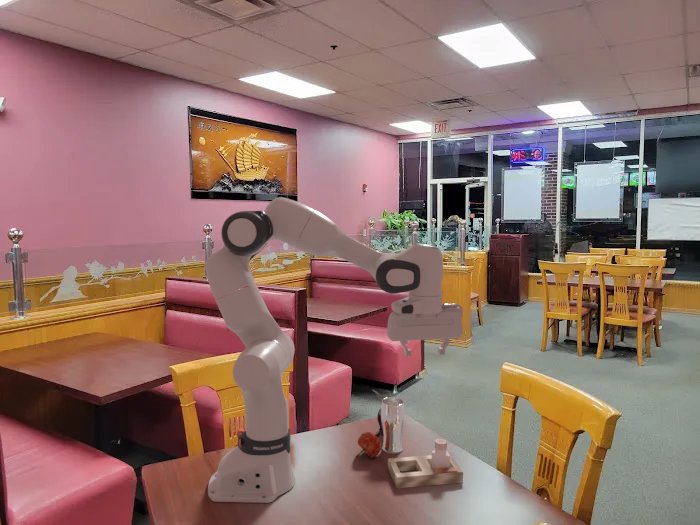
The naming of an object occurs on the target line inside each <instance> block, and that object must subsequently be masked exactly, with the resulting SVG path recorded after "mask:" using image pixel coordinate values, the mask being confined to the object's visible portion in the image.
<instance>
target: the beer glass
mask: <svg viewBox="0 0 700 525" xmlns="http://www.w3.org/2000/svg"><path fill="white" fill-rule="evenodd" d="M381 400H382V405H381V406H380V408H381V422H382V428H383V431H382V436H383V435H384V436H383V441H382V444H381V449H383V450H382V451H383V452H384V453H387V454H392V455H393V454H400V453H401V452H402V451H403V445H402V435H403V434H402V433H403V429H404V423H405V401H404V399H403V398H400V397H396V396H395V397H394V396H391V397H390V396H389V397H385V398H383V399H381Z"/></svg>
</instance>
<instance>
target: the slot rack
mask: <svg viewBox="0 0 700 525" xmlns="http://www.w3.org/2000/svg"><path fill="white" fill-rule="evenodd" d="M449 455H450V468H439V469H434V470H433V469H432V467H431V459H432V454H429V455H428V454H427V455H417V456H416V455H415V456H405V457H404V456H403V457H402V456H401V457H392V458H390V457H389V458H387V470H388V472H389V474H390V476H391V478H392V481H393V482H394V486H395V488H396V489H406V488H415V487H426V486H427V487H428V486H436V485H439V486H440V485H449V484H457V483H460V484H461V483H463V481H464V480H463V479H464V471H463V469H461V467H460V466H459V464H458V463H457V461H456V460H455V458H454V457H453V456H452V455H451V453H449ZM400 471H401V472H400Z"/></svg>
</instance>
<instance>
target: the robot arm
mask: <svg viewBox="0 0 700 525" xmlns="http://www.w3.org/2000/svg"><path fill="white" fill-rule="evenodd" d="M220 234H221V239H222V242H223V244H224V245H223V247H222V248H220V250H218V251H217V250H216V251H215V252H213V253H212V254H211V255H209V257H208V258H207V259H206V261H205V265H204V269H205V273H206V277H207V282H208V285H209V287H210V291H211V293H212V295H213V298H214V301H215V303H216V305H217V308H218V309H219V312H220V314H221V317H222V318H223V321H224V323H225V325H226V327H227V328H228V329H229V330H230V331H231V332H233V333H234V334H235V335H237V336H238V337H237V338H239V339H240V340H241V342H242V343H243V345H244V346H245V349H244V350H242V351H241V352H240V354H239V355H238V357H237V358H236V360H235V363H234V364H233V367H232V378H233V380H234V383H235V384H236V386H237V387H238V388H239V389H240V391H241V395H242V399H243V403H244V413H245V414H244V416H245V418H244V419H245V429H244V428H243V427H240V428H238V430H237V432H236V437H237V446H236V447H235V448H233V449H232V450H231V451H229V452H227V453H226V454H225V455H224V456H223V457H222V458H221V460H220V462H219V464H218V467H217V471H215V472H214V473H213V474H212V475H211V477H210V478H209V481H208V486H207V495H208V498H209V499H210V500H211V501H212V502H214V503H215V502H217V503H260V504H261V503H262V504H263V503H266V504H268V503H271V502H274V501H275V500H276V499H277V498H278V497H279V496H281V495H283V494H285V493H287V492H288V491H290V490H292V488H293V487H294V485H295V484H296V476H295V474H294V471H293V466H292V462H291V461H292V459H291V448H292V440H291V439H292V437H291V430H290V428H289V402H288V399H287V398H286V397H285V393H284V389H283V381H282V379H283V375H284V372H285V371H286V370H287V369H288V368H289V367H290V365H291V364H292V362H293V359H294V355H295V352H296V351H295V344H294V341H293V340H292V338H291V337H290V336H289V335H288V334H287V333H286V332H284V331H283V330H282V328H281V327H280V325H279V324H278V322H276V320H275V319H274V317H273V315H272V314H271V313H270V311H269V309H268V306H267V305H266V303H265V300H264V298H263V296H262V294H261V292H260V289H259V287H258V285H257V283H256V280H255V278H254V276H253V273H252V271H251V266H250V261H251V260H252V259H253V258H255V257H256V255H258V254H259V253H260V252H262V250H264V249H265V247H266V245H267V244H268V243H269V241H271V240H272V241H273V240H278V241H281V242H283V243H286V244H288V245H289V246H291V247H293V248H295V249H297V250H299V251H302V252H304V253H306V254H309V255H313V256H316V257H336V258H339V259H342V260H345V261H347V262H349V263H351V264H353V265H355V266H356V267H359V268H361V269H362V270H364V271H366V273H368V274H369V275H370V276H371V277H372V279H373V280H374V281H375V283H376V284H377V287H379V288H380V289H381V290H382V291H383V292H384V293H386V294H387V293H388V294H400V293H401V294H402V293H406V292H407V293H408V296H406V297H404V298H401V299H398V300H396V301H393V302H392V303H391V309H392V310H391V311H392V312H391V313H390V314H389V316H388V319H387V329H386V334H387V337H388V338H389V340H390V341H392V342H399V344H400V345H401V347H402V349H403V355H404V356H405V357H406V358H407V357H408V358H409V357H411V356H412V350H411V348H408V347H407V345H408V341H426V340H441V341H442V344H441V346H439V347H437V354H438V355H439V356H445V355H446V349H447V348H448V346H449V345H450V339H451V340H452V339H461V337H462V336H463V334H464V331H463V330H464V328H463V326H464V325H463V321H462V320H463V319H462V318H463V315H464V314H463V313H464V309H463V307H462V306H461V305H459V304H458V303H443V301H444V300H443V296H444V295H443V294H444V292H443V287H442V282H443V280H444V261H443V254H442V251H441V250H440V248H438V247H437V246H435V245H431V244H426V243H422V242H419V243H418V242H415V243H413V244H412V245H411V246H410V247H408V248H406V249H404V250H402V251H400V252H398V253H397V252H393V251H383V250H382V251H381V250H378V249H377V250H376V249H374V248H372V247H371V246H368V245H366V244H364V243H363V242H360V241H358V240H356V239H355V238H353V237H351V236H350V235H348V234H347V233H346V232H345V231H344V230H342V229H341V227H340V226H339V225H338V224H337V223H335V222H334V221H333V220H332V219H330V218H329V217H328V216H326V215H325V214H323V213H322V212H320V211H318V210H316V209H314V208H312V207H310V206H308V205H306V204H304V203H301V202H299V201H296V200H294V199H290V198H286V197H283V196H279V197H275V198H273V199H272V200H271V201H270V202H269V203H268V204H267V206H266V207H265V209H264V210H242V211H236V212H234V213H232V214H231V215H229V216H228V217H227V218H226V219H225V221H224V222H223V224H222V227H221V232H220Z"/></svg>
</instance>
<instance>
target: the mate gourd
mask: <svg viewBox="0 0 700 525" xmlns="http://www.w3.org/2000/svg"><path fill="white" fill-rule="evenodd" d="M371 391H372V392H374V393H375V394H376V395H377V398H378V399H379V401H380V405H381V406H382V400H383V399H382V396H381V394H380V393H379V392H378V391H376V390H374V389H371ZM376 418H377V423H378V426H379V429H378V430H379V431H380V432H383V428H382V422H381V407H380V408H379V409H378V411H377V417H376ZM382 436H383V437H384V435H383V434H382Z"/></svg>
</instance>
